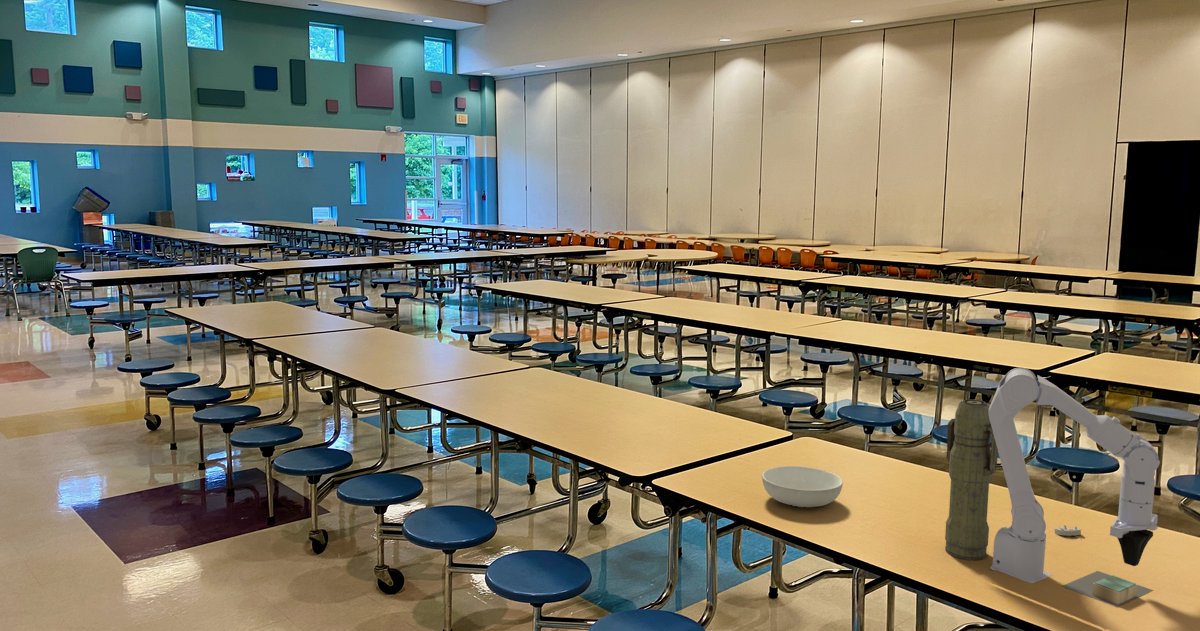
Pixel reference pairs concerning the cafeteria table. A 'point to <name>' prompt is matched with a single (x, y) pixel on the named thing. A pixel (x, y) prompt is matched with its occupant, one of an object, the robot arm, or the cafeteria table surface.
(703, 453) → the cafeteria table surface
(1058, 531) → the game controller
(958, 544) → the thermos
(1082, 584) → the rubber mat
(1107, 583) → the green-faced wooden block
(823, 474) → the serving bowl
